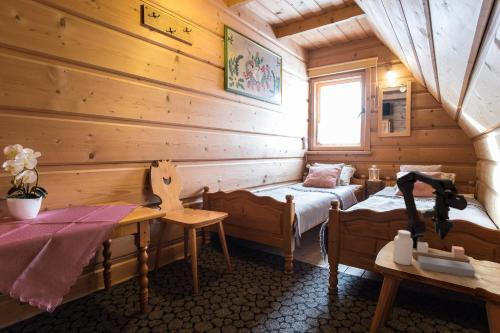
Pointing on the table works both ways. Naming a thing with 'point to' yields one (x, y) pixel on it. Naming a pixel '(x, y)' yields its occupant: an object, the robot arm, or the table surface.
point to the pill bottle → (403, 248)
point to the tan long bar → (439, 255)
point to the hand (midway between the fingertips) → (439, 236)
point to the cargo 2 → (458, 252)
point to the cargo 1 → (422, 247)
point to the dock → (446, 266)
